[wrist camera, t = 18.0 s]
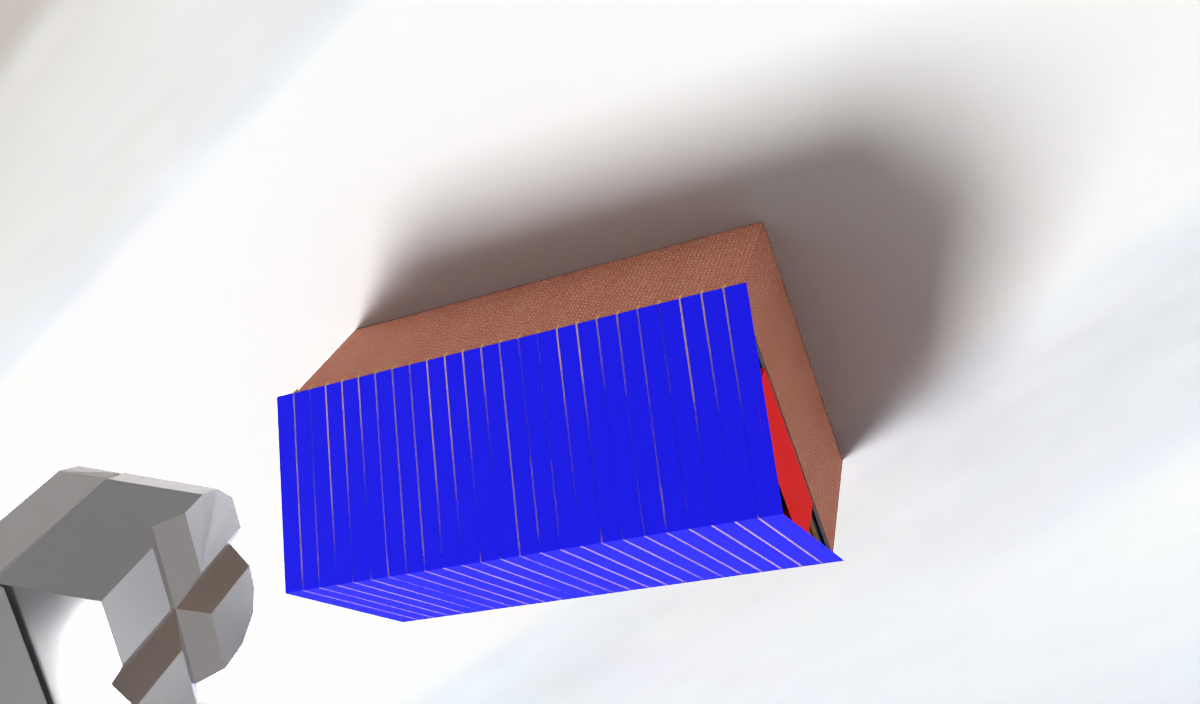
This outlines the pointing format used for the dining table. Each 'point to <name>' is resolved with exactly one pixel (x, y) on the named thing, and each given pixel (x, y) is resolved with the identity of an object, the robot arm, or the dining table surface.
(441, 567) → the house
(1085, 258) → the dining table surface
